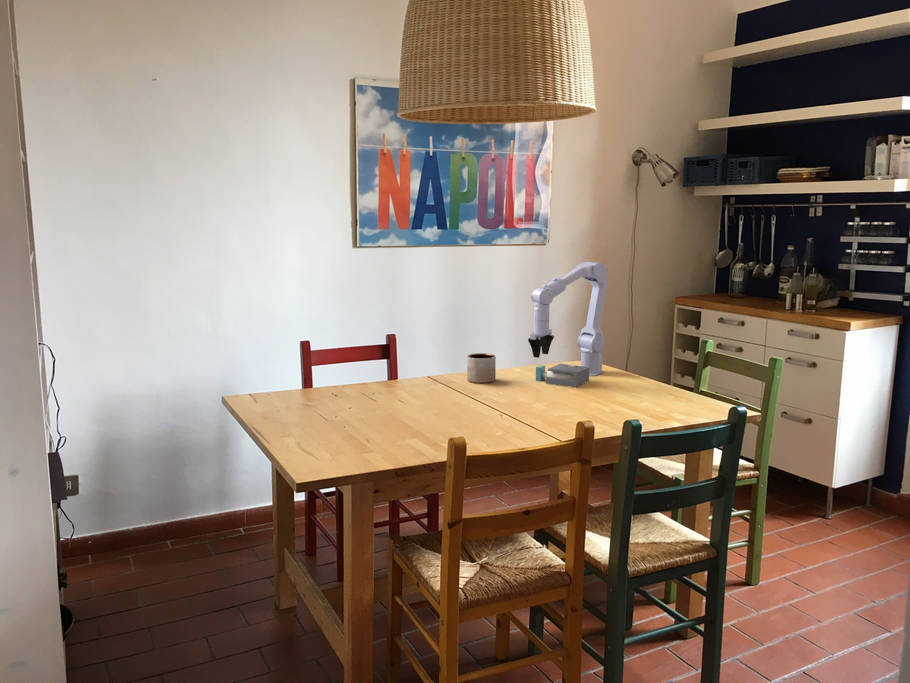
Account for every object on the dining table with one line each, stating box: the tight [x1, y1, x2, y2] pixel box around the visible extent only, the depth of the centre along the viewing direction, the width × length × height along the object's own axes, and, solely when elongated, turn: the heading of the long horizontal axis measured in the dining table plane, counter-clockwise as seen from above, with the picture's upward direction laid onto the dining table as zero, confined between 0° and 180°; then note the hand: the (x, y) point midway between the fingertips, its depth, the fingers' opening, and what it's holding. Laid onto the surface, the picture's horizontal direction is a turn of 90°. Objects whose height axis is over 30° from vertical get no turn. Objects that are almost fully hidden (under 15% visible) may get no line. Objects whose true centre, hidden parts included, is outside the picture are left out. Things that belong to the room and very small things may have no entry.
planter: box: [466, 352, 497, 384], centre depth 300 cm, size 11×11×10 cm
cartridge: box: [535, 364, 574, 382], centre depth 298 cm, size 4×16×5 cm, turn 58°
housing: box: [545, 363, 590, 388], centre depth 298 cm, size 12×12×5 cm
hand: (540, 355), depth 301 cm, fingers open, 7 cm apart
